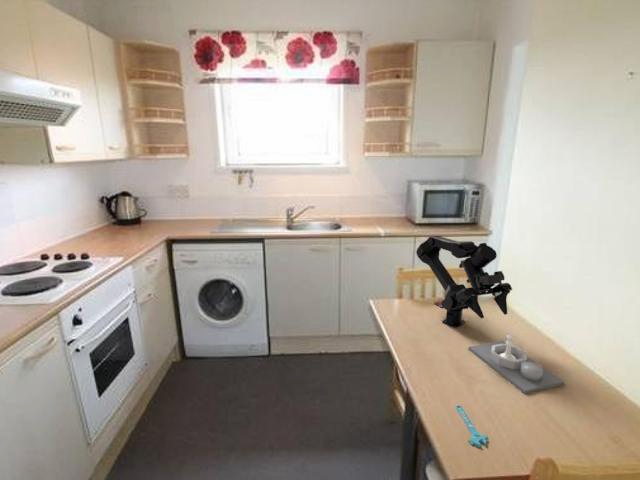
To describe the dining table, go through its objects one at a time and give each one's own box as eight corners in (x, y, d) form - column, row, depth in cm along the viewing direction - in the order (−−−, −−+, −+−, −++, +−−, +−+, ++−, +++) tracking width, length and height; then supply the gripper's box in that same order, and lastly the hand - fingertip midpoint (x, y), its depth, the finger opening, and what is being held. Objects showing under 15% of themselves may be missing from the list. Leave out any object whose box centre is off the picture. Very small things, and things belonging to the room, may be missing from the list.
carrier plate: (468, 349, 125) (469, 338, 124) (502, 343, 128) (503, 332, 127) (524, 393, 102) (526, 381, 101) (563, 384, 106) (566, 372, 105)
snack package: (454, 296, 165) (462, 300, 160) (453, 300, 165) (462, 304, 161) (433, 300, 160) (441, 305, 156) (433, 304, 161) (440, 309, 156)
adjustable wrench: (493, 444, 84) (472, 445, 84) (492, 448, 85) (471, 449, 84) (466, 403, 98) (448, 404, 98) (466, 406, 98) (448, 407, 98)
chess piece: (501, 362, 115) (505, 334, 112) (496, 354, 120) (500, 326, 117) (518, 363, 114) (522, 334, 112) (512, 355, 119) (516, 327, 116)
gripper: (464, 265, 119) (484, 311, 112) (511, 260, 124) (533, 303, 117) (448, 280, 129) (465, 323, 121) (492, 274, 134) (511, 315, 126)
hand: (494, 316), depth 121 cm, fingers open, 9 cm apart
